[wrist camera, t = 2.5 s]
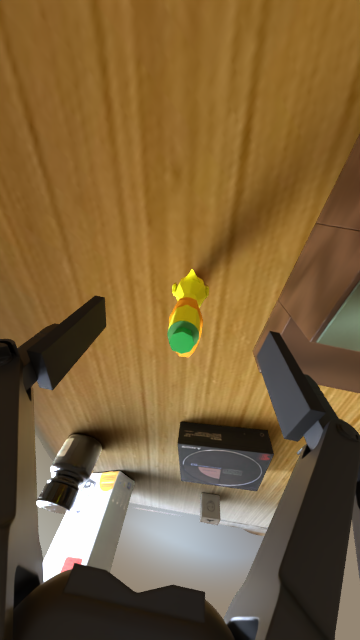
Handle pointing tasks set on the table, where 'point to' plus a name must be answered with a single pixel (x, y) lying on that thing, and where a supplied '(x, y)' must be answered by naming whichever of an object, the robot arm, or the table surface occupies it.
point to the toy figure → (187, 315)
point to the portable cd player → (223, 455)
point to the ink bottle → (69, 473)
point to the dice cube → (210, 508)
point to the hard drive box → (91, 525)
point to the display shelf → (326, 291)
